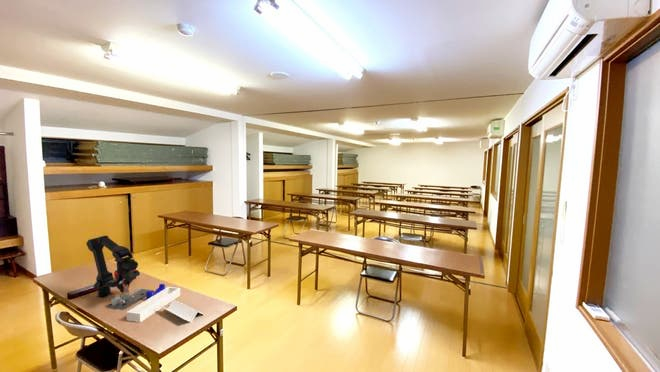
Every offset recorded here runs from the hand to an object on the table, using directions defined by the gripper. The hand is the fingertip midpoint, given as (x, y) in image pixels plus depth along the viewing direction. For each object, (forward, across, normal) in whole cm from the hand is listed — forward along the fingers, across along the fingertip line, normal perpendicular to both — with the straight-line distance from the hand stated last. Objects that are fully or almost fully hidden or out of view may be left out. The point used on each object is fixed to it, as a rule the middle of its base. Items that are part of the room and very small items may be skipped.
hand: (124, 291), depth 175 cm
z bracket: (+7, -5, -46) cm, 47 cm away
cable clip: (+7, +9, -14) cm, 18 cm away
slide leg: (+5, 0, -2) cm, 5 cm away
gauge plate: (+6, +2, -3) cm, 7 cm away
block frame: (+6, -2, -25) cm, 26 cm away
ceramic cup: (+7, +21, +24) cm, 33 cm away
